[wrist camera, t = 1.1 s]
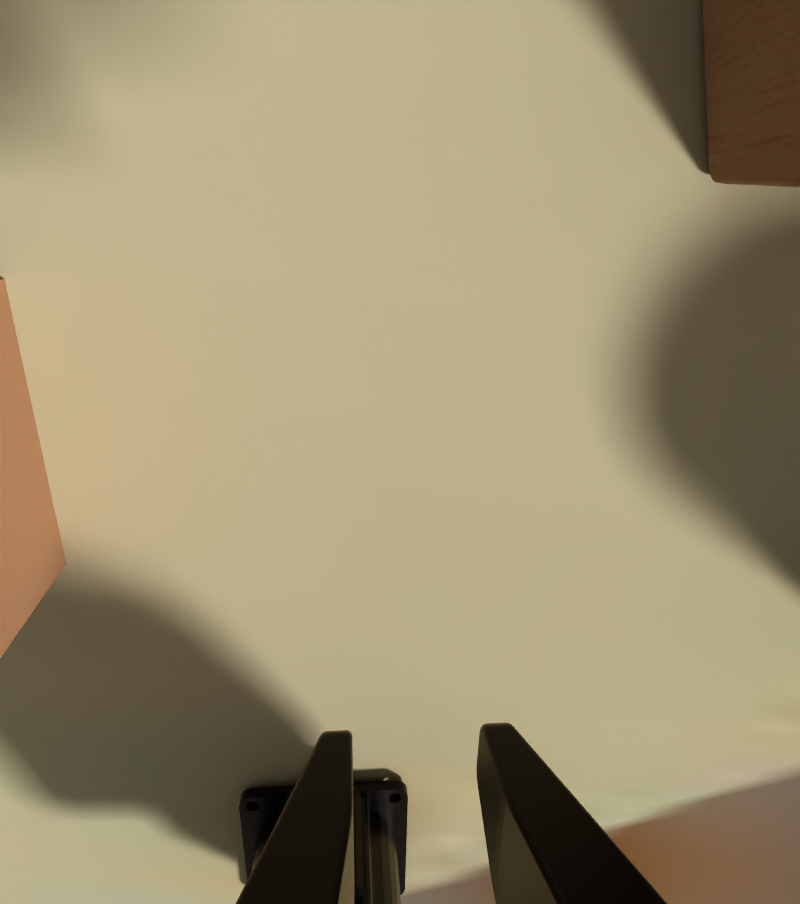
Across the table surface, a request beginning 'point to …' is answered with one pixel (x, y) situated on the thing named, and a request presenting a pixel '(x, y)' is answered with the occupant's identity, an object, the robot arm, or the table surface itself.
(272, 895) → the robot arm
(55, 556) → the tile
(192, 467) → the table surface
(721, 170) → the wooden block
